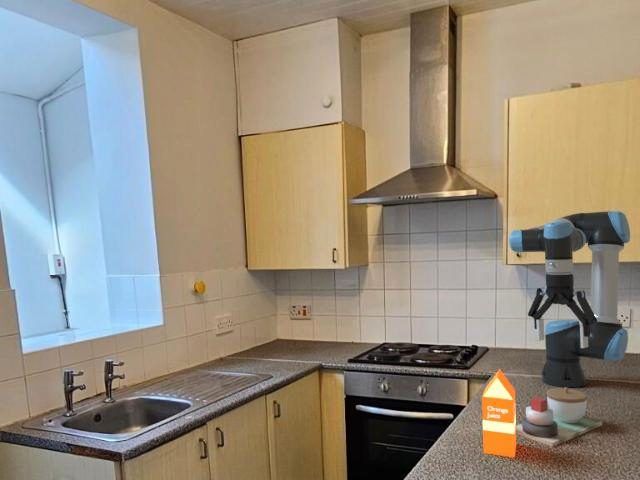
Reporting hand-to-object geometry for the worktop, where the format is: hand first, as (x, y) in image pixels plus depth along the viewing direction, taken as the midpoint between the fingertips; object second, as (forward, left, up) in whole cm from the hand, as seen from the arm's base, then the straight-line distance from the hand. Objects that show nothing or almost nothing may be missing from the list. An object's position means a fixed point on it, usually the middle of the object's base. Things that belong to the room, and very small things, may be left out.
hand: (561, 343), depth 147 cm
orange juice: (+32, +1, -23) cm, 39 cm away
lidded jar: (+2, +2, -22) cm, 22 cm away
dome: (+16, +2, -19) cm, 25 cm away
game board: (+8, +2, -23) cm, 24 cm away
